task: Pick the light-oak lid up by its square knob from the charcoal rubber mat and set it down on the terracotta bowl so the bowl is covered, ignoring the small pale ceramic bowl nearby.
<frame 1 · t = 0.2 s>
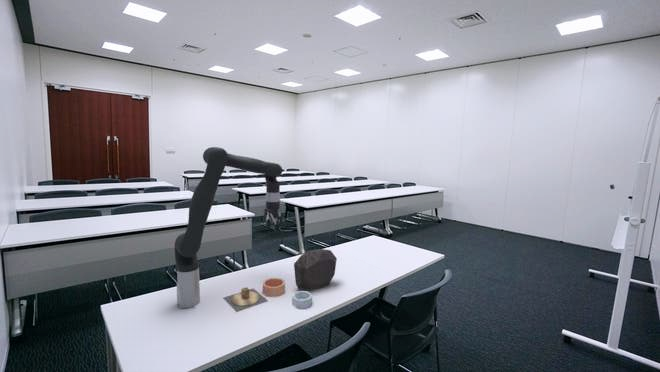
hand: (272, 229, 170), 29 cm above the table, fingers open, 8 cm apart
small bowl: (302, 303, 148), on the table
mat: (245, 300, 150), on the table
decorative stone: (315, 286, 166), on the table
bowl: (273, 291, 159), on the table
lid: (245, 299, 150), resting on mat
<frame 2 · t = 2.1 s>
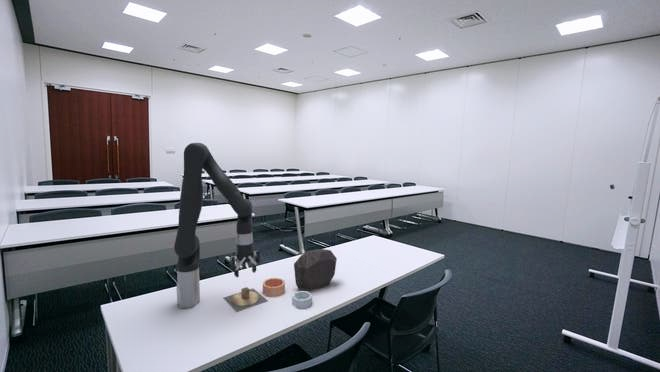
hand: (245, 274, 148), 13 cm above the table, fingers open, 8 cm apart
nothing on the table moved.
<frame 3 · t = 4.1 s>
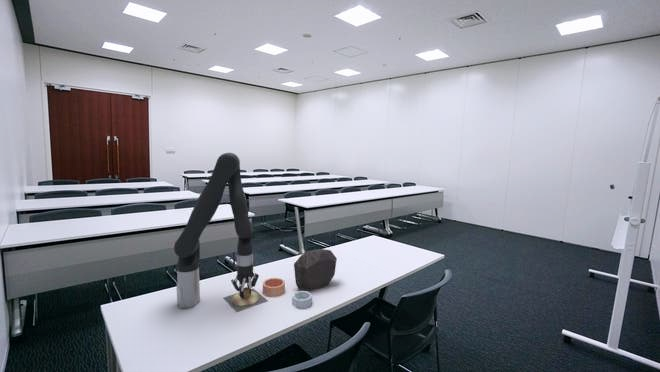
hand: (245, 296, 150), 2 cm above the table, fingers closed on lid, 2 cm apart
lid: (245, 299, 150), resting on mat, touching gripper
everything else where it was.
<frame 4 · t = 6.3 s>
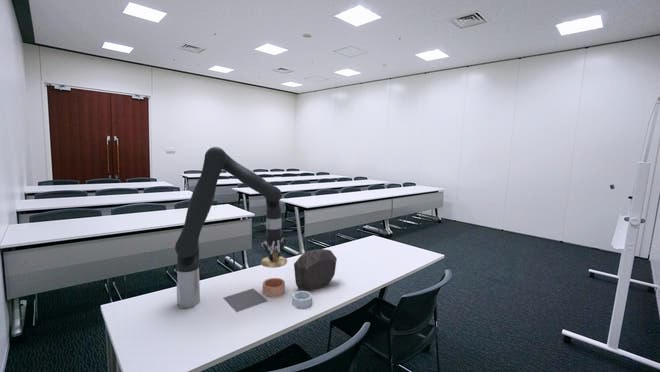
hand: (274, 259, 156), 17 cm above the table, fingers closed on lid, 2 cm apart
lid: (274, 262, 156), point 16 cm above the table, touching gripper
everything else where it was.
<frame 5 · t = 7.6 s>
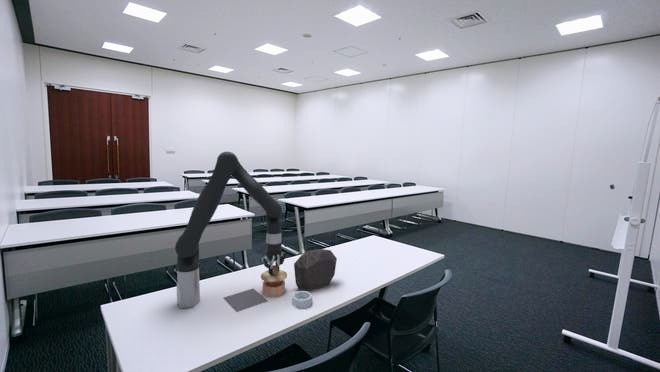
hand: (274, 273, 157), 10 cm above the table, fingers closed on lid, 2 cm apart
lid: (274, 276, 157), point 8 cm above the table, touching gripper
everything else where it was.
when the fingers open (8 cm above the table, at t = 8.6 s): lid drops 2 cm, resting on bowl.
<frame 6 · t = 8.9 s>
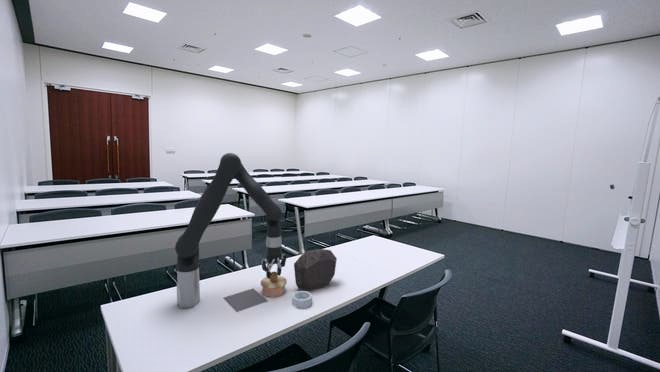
hand: (273, 276, 157), 8 cm above the table, fingers open, 5 cm apart
lid: (273, 282, 158), point 5 cm above the table, touching bowl
everything else where it was.
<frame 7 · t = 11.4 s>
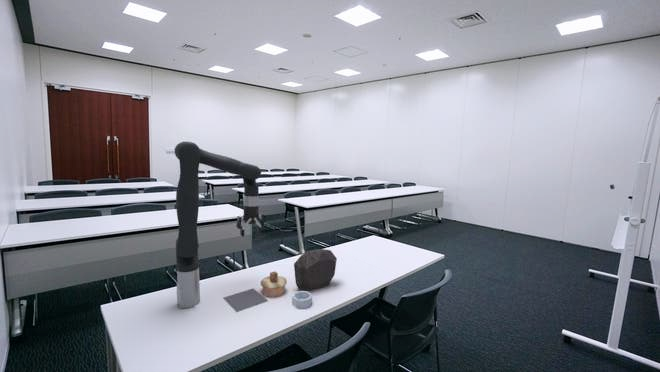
hand: (250, 235, 160), 28 cm above the table, fingers open, 8 cm apart
nothing on the table moved.
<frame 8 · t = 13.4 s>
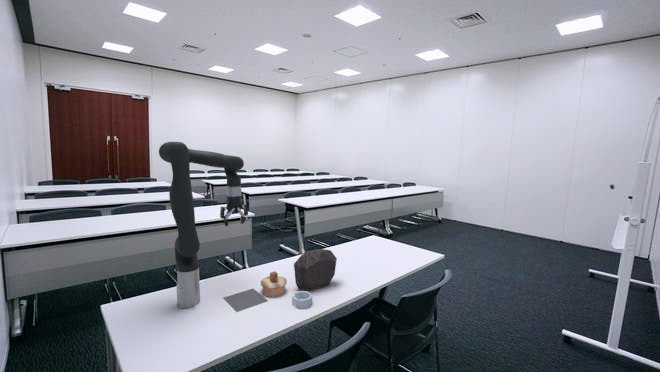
hand: (234, 224, 164), 32 cm above the table, fingers open, 8 cm apart
nothing on the table moved.
at the end: lid 0.1 cm off-centre on the bowl, point 5.0 cm above the bowl's base; lid tilted 0°; the gripper is holding nothing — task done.
